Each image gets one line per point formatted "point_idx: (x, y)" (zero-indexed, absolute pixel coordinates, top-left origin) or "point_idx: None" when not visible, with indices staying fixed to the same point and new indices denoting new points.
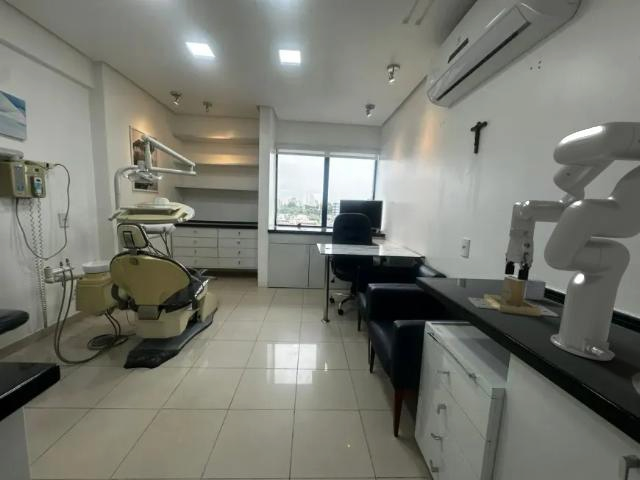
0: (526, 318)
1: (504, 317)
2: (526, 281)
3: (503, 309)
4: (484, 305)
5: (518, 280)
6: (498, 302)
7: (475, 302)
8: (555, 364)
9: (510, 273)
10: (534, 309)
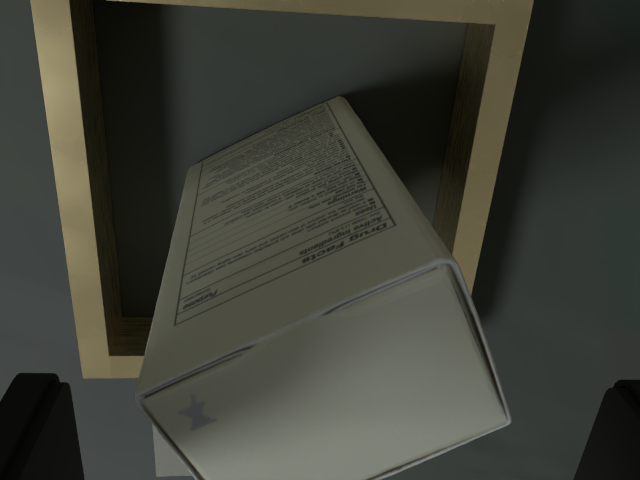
0: (571, 180)
1: (564, 350)
2: (458, 264)
3: None
4: None
5: (476, 418)
6: None
7: None
8: None
9: (69, 456)
10: (516, 66)
